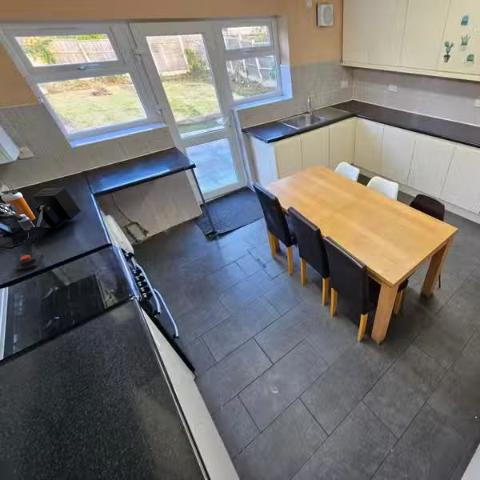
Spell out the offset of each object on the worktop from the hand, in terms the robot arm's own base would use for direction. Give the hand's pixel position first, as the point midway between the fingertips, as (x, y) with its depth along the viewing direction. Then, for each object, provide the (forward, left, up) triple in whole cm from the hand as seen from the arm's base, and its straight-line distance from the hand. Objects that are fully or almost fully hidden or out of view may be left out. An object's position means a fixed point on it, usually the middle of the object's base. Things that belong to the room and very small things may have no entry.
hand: (21, 219), depth 156 cm
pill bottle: (+11, +6, -12) cm, 18 cm away
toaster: (+19, -11, -12) cm, 25 cm away
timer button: (-31, -7, -9) cm, 33 cm away
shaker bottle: (+23, +10, -12) cm, 28 cm away
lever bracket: (+9, -8, -12) cm, 17 cm away
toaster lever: (+5, -6, -4) cm, 9 cm away
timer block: (-31, -7, -12) cm, 34 cm away
